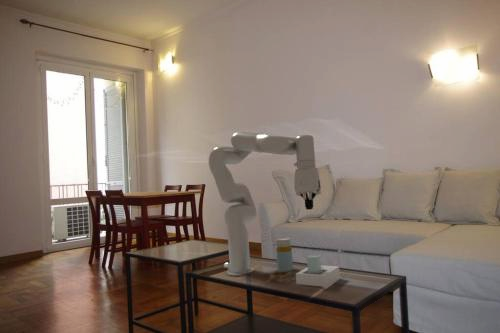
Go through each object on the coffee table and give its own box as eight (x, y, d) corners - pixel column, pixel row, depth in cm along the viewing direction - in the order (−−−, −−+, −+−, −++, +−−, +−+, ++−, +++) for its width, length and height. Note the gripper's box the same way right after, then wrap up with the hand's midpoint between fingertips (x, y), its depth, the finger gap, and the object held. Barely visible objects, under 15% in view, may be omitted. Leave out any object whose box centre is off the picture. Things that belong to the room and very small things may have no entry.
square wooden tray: (265, 283, 160) (265, 275, 160) (274, 278, 167) (274, 270, 167) (287, 285, 155) (286, 276, 155) (296, 280, 161) (295, 272, 161)
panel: (296, 286, 152) (295, 273, 153) (312, 276, 166) (311, 264, 166) (325, 289, 146) (324, 275, 146) (340, 278, 160) (339, 265, 160)
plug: (308, 282, 153) (306, 257, 153) (312, 280, 156) (310, 255, 157) (318, 283, 151) (316, 257, 151) (322, 281, 154) (320, 255, 155)
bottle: (292, 273, 173) (290, 240, 174) (276, 274, 175) (274, 240, 175) (293, 270, 180) (291, 237, 181) (278, 270, 181) (276, 238, 182)
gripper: (286, 166, 163) (289, 210, 162) (319, 163, 155) (323, 209, 154) (293, 166, 169) (296, 208, 168) (326, 163, 161) (329, 208, 160)
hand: (309, 209), depth 161 cm, fingers closed
